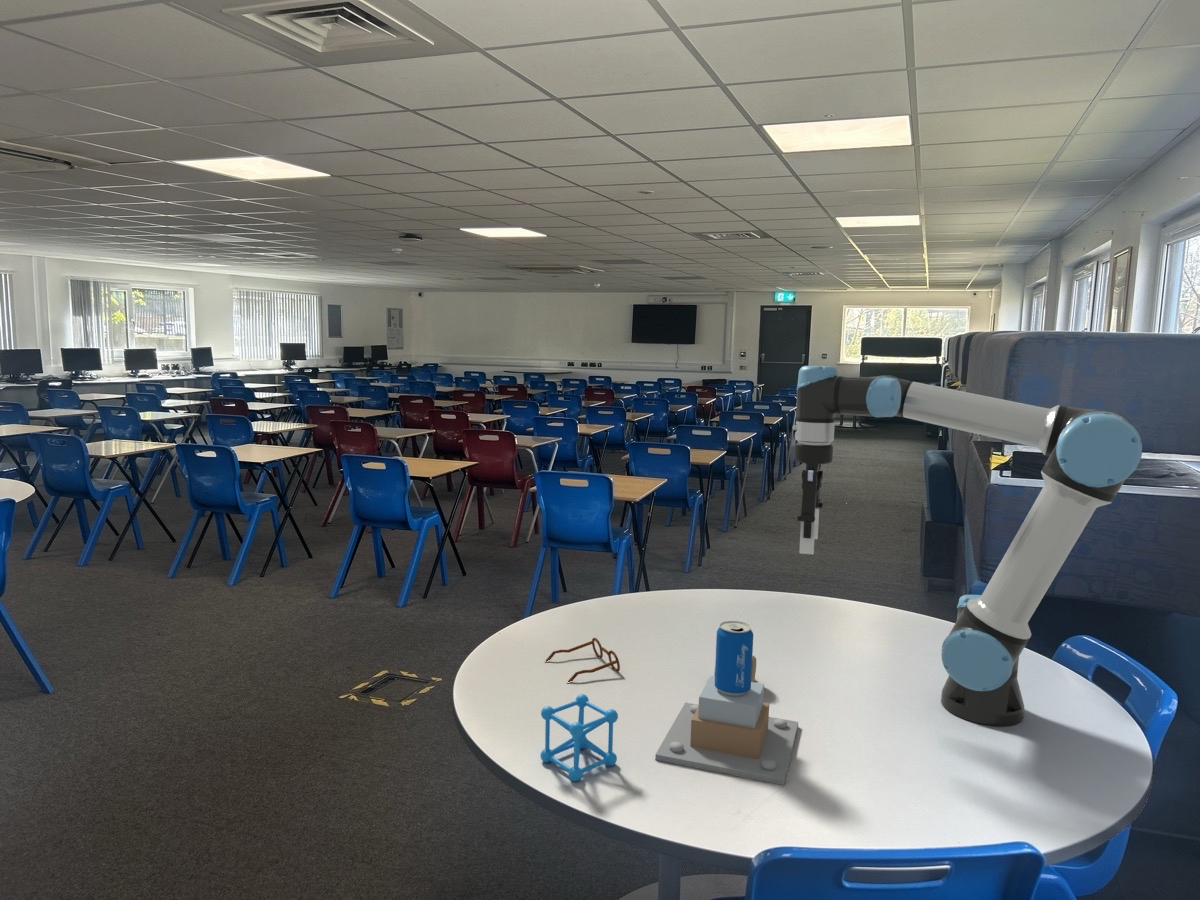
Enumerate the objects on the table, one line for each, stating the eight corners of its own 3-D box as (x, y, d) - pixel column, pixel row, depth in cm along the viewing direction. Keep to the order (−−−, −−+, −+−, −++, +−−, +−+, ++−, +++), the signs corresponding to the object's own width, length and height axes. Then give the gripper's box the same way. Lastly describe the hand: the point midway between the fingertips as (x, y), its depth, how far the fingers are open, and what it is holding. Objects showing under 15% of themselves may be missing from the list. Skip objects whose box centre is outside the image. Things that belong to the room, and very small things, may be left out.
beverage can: (723, 699, 141) (726, 633, 139) (708, 684, 147) (711, 621, 145) (756, 696, 142) (760, 631, 141) (740, 681, 148) (743, 618, 147)
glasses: (621, 676, 175) (621, 654, 175) (566, 686, 170) (567, 663, 169) (595, 654, 187) (595, 634, 186) (543, 663, 181) (543, 642, 181)
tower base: (797, 726, 152) (800, 676, 151) (784, 785, 132) (787, 727, 131) (685, 707, 160) (686, 659, 158) (655, 759, 139) (657, 705, 138)
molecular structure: (581, 743, 145) (583, 690, 143) (619, 765, 137) (621, 710, 136) (537, 761, 138) (538, 706, 137) (574, 785, 131) (575, 727, 129)
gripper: (799, 435, 174) (795, 531, 177) (789, 448, 151) (784, 558, 153) (835, 437, 172) (830, 534, 174) (830, 450, 148) (824, 562, 151)
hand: (808, 545), depth 164 cm, fingers open, 13 cm apart
